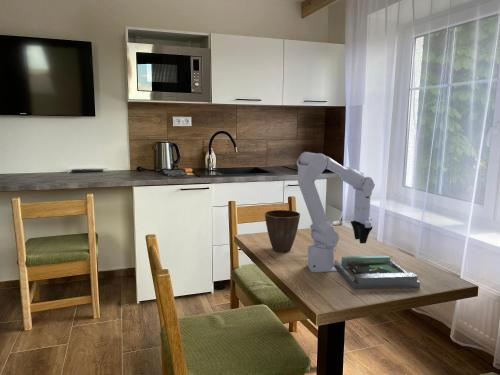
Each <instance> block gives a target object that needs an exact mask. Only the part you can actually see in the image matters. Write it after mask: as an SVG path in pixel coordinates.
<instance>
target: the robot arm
mask: <svg viewBox="0 0 500 375" xmlns="http://www.w3.org/2000/svg"><path fill="white" fill-rule="evenodd" d="M296 165H297V184H298V186H299V188H300V191H301V195H302V198H303V201H304V203H305V206H306V209H307V212H308V214H309V216H310V219H311V222H312V223H311V224H310V227H309V228H310V231H311V232H310V237H311V238H312V240H313V245H308V248H307V263H306V266H307V267H308V269H309V270H310V272H311V273H326V272H337V271H338V269H337V267H336V266H335V265H334V260H335V248H336V246H337V245H338V243H339V239H340V236H339V235H340V234H339V233H338V232H337V231H336V230H335V229H334V228H335V227H334V225H332V223H331V222H330V221H329V220H328V218H327V214H326V212H325V210H324V206H323V204H322V200H321V198H320V195H319V192H318V189H317V186H316V181H317V179H318V178H319V177H320V176H321V174H323V172H324V171H325V170H329V171H330V172H333V173H334V174H337V175H339V176H340V180H341V181H343V182H344V183H346V184H348V185H349V186H351V187H352V188H353V189H354V207H353V208H354V209H353V211H354V212H353V214H352V219H353V220H351V221H350V225H351V227H352V230H353V235H354V240H359V243H360V244H367V241H368V238H369V235H370V233H371V232H372V229H373V228H374V227H373V226H372V222H371V221H373V218H372V217H370V212H371V211H370V210H371V209H370V208H371V196H372V195H373V194H372V193H373V190H374V188H375V185H376V184H375V183H374V180H373V178H372V177H370V176H367V175H366V176H365V173H363V172H359V171H358V170H357V169H356V167H354V166H347V167H345V166H343V165H342V164H340V163H338V162H337V161H336V160H334V159H332V158H331V157H330V156H328V155H325V154H323V153H320V152H319V153H315V152H310V151H304V152H302V153H301V154H300V155H299V157H298V159H297V161H296Z"/></svg>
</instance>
